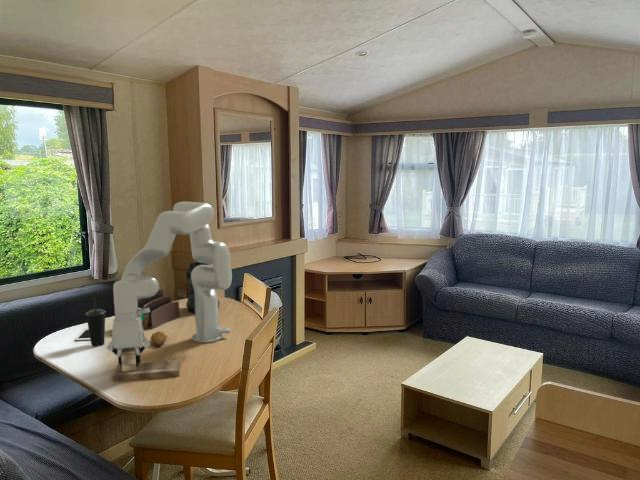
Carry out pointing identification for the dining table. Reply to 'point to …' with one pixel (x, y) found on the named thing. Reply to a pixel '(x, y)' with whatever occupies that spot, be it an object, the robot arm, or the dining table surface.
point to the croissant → (158, 338)
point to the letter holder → (159, 308)
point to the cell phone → (84, 336)
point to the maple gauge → (128, 359)
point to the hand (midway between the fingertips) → (129, 364)
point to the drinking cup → (96, 325)
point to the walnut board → (149, 371)
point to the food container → (145, 317)
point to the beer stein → (191, 298)
